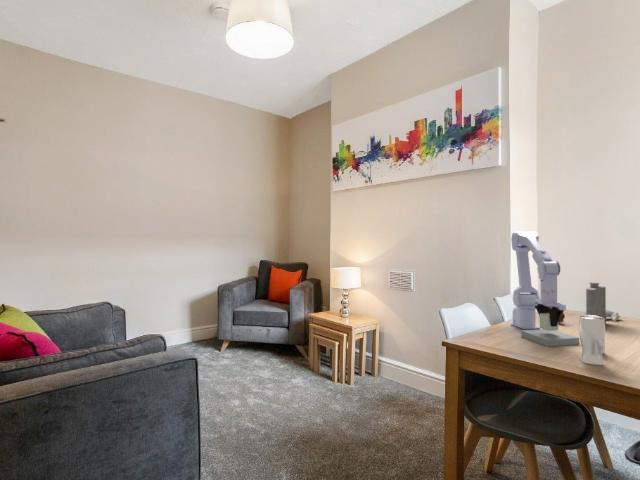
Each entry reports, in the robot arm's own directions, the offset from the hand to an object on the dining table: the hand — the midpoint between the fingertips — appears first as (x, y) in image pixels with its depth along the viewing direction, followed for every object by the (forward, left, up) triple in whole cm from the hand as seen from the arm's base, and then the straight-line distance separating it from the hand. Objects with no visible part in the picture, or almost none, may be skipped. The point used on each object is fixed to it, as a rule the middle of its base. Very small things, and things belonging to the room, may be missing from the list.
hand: (548, 324), depth 146 cm
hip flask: (-17, +39, -6) cm, 43 cm away
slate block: (0, 0, -7) cm, 7 cm away
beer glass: (+25, -6, -6) cm, 26 cm away
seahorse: (-25, +50, -7) cm, 56 cm away
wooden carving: (-28, +27, -6) cm, 39 cm away
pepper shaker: (+17, +4, -6) cm, 19 cm away
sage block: (0, 0, -2) cm, 2 cm away
